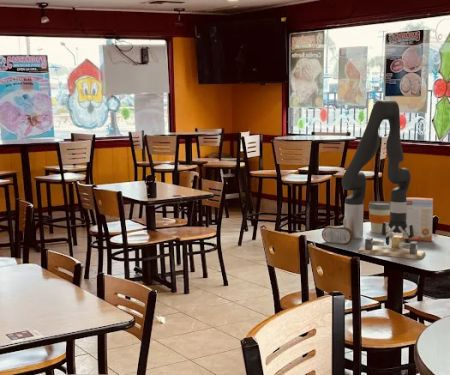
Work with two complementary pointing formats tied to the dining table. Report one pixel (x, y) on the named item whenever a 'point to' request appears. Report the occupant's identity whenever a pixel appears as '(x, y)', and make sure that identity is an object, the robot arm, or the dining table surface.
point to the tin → (337, 235)
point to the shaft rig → (391, 249)
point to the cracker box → (420, 218)
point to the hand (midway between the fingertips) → (397, 245)
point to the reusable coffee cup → (379, 215)
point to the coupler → (396, 241)
